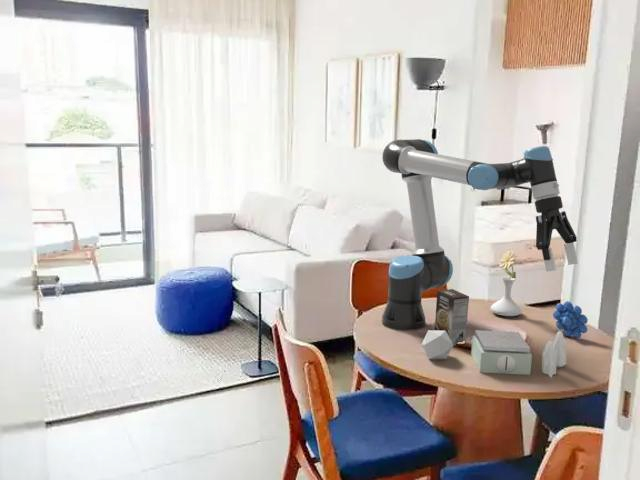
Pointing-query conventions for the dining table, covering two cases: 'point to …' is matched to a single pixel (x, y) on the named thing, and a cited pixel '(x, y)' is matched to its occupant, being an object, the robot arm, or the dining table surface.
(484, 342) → the pan
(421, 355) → the dining table surface
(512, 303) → the flower in vase
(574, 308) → the grapes
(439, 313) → the coffee box
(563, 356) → the salt and pepper shakers
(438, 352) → the die
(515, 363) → the block
